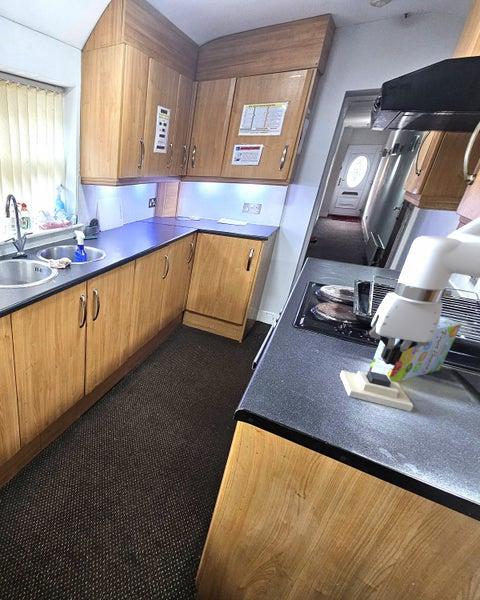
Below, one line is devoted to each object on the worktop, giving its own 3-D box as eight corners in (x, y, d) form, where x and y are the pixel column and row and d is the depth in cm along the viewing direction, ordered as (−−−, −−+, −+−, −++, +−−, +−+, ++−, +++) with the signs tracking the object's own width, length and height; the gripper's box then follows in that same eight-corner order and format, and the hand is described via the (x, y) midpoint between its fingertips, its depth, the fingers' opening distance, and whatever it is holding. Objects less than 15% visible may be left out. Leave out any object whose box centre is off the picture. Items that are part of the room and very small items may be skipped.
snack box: (416, 360, 97) (438, 314, 91) (440, 371, 92) (465, 323, 86) (364, 373, 91) (384, 326, 85) (387, 385, 86) (410, 336, 80)
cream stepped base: (395, 388, 85) (400, 376, 84) (410, 411, 77) (417, 399, 76) (339, 375, 90) (343, 364, 89) (348, 396, 82) (353, 384, 80)
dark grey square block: (383, 380, 83) (386, 374, 83) (388, 388, 80) (391, 382, 80) (365, 376, 85) (368, 370, 84) (370, 384, 82) (372, 378, 81)
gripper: (454, 292, 73) (421, 362, 80) (370, 282, 79) (346, 348, 86) (473, 303, 67) (436, 378, 74) (380, 292, 73) (354, 362, 80)
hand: (388, 361), depth 80 cm, fingers closed
